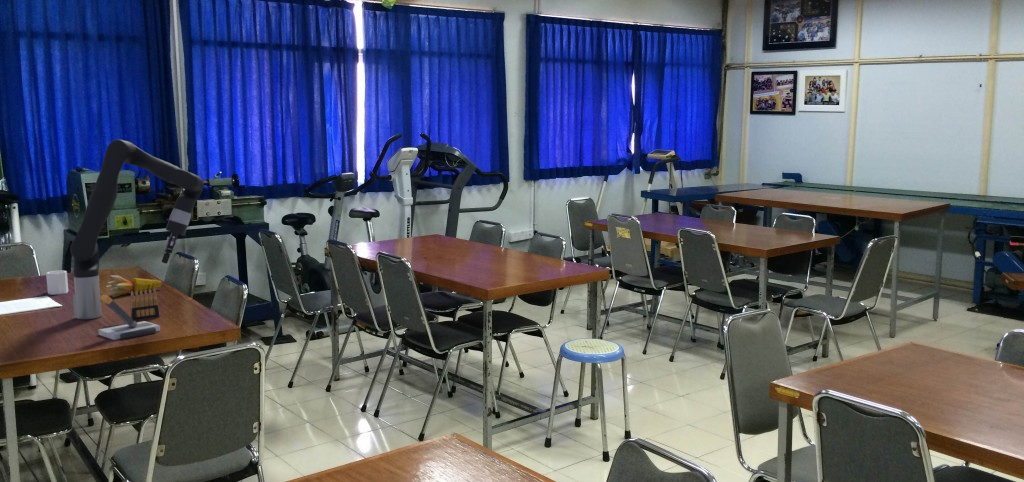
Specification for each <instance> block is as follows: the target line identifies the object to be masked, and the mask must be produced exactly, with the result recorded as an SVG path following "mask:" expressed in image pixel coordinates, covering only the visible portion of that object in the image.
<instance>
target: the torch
mask: <svg viewBox="0 0 1024 482" xmlns="http://www.w3.org/2000/svg"><path fill="white" fill-rule="evenodd" d="M110 277H111V278H113V279H114V280H112V281H108V282H107V284H108V285H106V288H111V289H109V291H110V292H108V295H112V296H111V298H115V297H121V296H123V295H126V294H129V293H131V291H133V294H134V295H135V293H136V290H137V292H138V294H140V290H142V292H144V291H145V289H146V291H149V289H151V291H154V288H155V290H156V289H158V288H161V287H162V281H161V280H158V279H148V278H140V277H139V278H138V277H133V278H132V279H131V280H128V279H126V278H124V277H123V276H120V275H118V274H117V275H110Z"/></svg>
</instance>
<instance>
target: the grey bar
mask: <svg viewBox="0 0 1024 482" xmlns="http://www.w3.org/2000/svg"><path fill="white" fill-rule="evenodd" d="M134 321H135V322H137V320H134ZM126 324H127V323H125V322H123V323H119V324H113V325H108V326H103V327H102V328H101V329H104V328H110V327H115V326H121V325H126Z"/></svg>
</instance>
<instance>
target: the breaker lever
mask: <svg viewBox="0 0 1024 482" xmlns="http://www.w3.org/2000/svg"><path fill="white" fill-rule="evenodd" d="M99 299H100V300H101V302H102V303H103V304H105V306H107V307H108V308H109V309H110V310H111V311H113V312H114V313H115V314H116V315H117V316H118V317H119V318H120V319H121V320H122V321H123V323H127V325H128V326H131V327H136V326H137V321H136V320H133V319H132V318H131V315H129V314H128V313H127V312H126V311H125V310H123V309H122V308H121V307H120V306H119V305H118V304H117V302H115V301H114V299H113V298H112V297H110V296H109V295H107V294H102V295H100V298H99ZM135 321H136V322H135Z"/></svg>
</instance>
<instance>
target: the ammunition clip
mask: <svg viewBox="0 0 1024 482" xmlns="http://www.w3.org/2000/svg"><path fill="white" fill-rule="evenodd" d="M143 292H144V293H143ZM157 296H158V295H157V290H156V289H155V288H154V289H153V290H151V289H149V290H146V289H145V291H142V290H140V292H139V293H138V292H137V290H136V293H135V294H133V291H131V292H130V317H131V318H132V319H133V320H134V321H139V320H147V319H154V318H160V310H159V303H158V297H157Z"/></svg>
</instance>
